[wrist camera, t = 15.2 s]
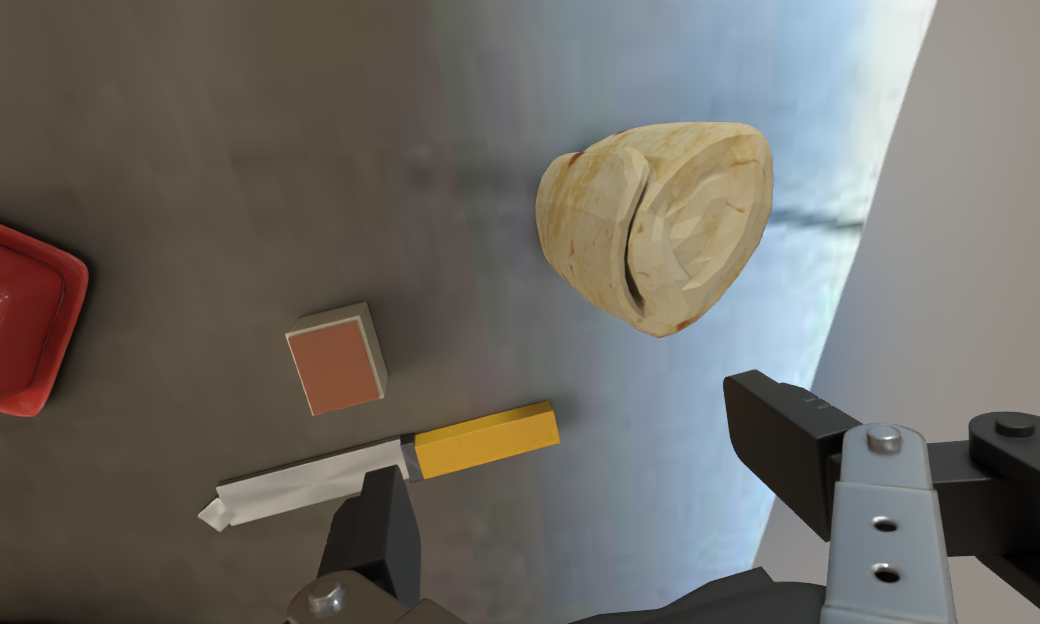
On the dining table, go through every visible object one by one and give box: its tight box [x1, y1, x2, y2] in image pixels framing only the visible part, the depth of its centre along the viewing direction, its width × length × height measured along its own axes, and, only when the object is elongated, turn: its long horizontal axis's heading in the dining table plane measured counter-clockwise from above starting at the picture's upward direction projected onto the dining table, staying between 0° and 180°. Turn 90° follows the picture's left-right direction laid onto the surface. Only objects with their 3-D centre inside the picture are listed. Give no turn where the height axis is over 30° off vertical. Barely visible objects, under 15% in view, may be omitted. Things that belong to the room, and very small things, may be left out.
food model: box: [535, 122, 773, 338], centre depth 32 cm, size 10×7×20 cm
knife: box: [198, 400, 560, 532], centre depth 43 cm, size 26×3×2 cm, turn 102°
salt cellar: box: [285, 302, 388, 416], centre depth 39 cm, size 5×6×4 cm
